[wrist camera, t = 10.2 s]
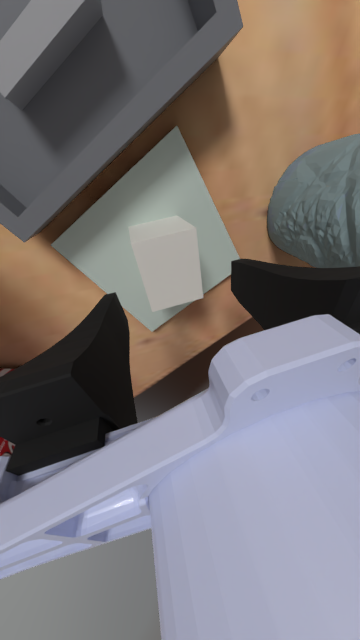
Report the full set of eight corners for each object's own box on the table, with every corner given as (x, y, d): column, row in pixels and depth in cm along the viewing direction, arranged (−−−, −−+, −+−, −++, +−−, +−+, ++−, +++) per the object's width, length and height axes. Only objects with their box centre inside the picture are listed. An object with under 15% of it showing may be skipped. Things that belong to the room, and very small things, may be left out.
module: (145, 283, 18) (152, 312, 14) (128, 226, 15) (130, 243, 11) (186, 272, 18) (203, 298, 15) (177, 215, 15) (196, 227, 12)
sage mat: (151, 328, 22) (151, 331, 22) (52, 243, 15) (50, 245, 14) (240, 263, 20) (243, 265, 20) (175, 127, 13) (177, 125, 12)
